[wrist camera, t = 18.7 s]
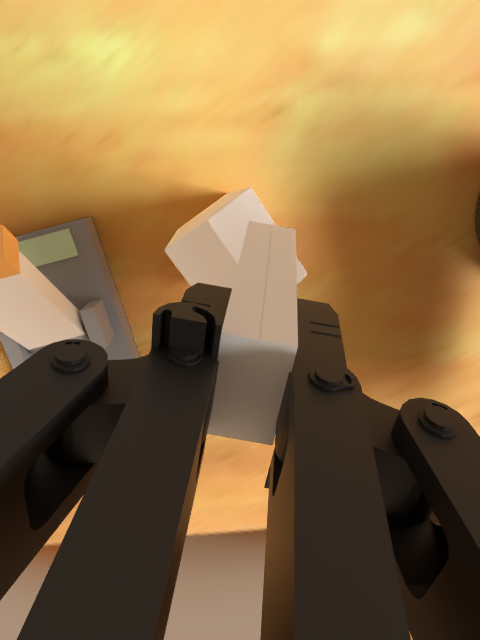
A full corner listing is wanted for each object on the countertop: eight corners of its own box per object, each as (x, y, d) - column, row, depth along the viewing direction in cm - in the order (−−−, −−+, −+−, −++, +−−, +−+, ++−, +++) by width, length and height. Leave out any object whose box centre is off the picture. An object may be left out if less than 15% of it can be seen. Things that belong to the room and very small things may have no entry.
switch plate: (150, 388, 47) (143, 417, 41) (57, 414, 47) (35, 447, 40) (91, 216, 42) (73, 219, 36) (-13, 245, 42) (-50, 253, 36)
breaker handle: (97, 344, 40) (4, 258, 27) (36, 360, 40) (-88, 283, 27) (93, 318, 41) (2, 224, 28) (34, 334, 41) (-86, 248, 28)
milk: (213, 279, 45) (227, 353, 24) (176, 228, 43) (155, 258, 22) (264, 243, 44) (324, 286, 23) (228, 190, 43) (258, 184, 21)
